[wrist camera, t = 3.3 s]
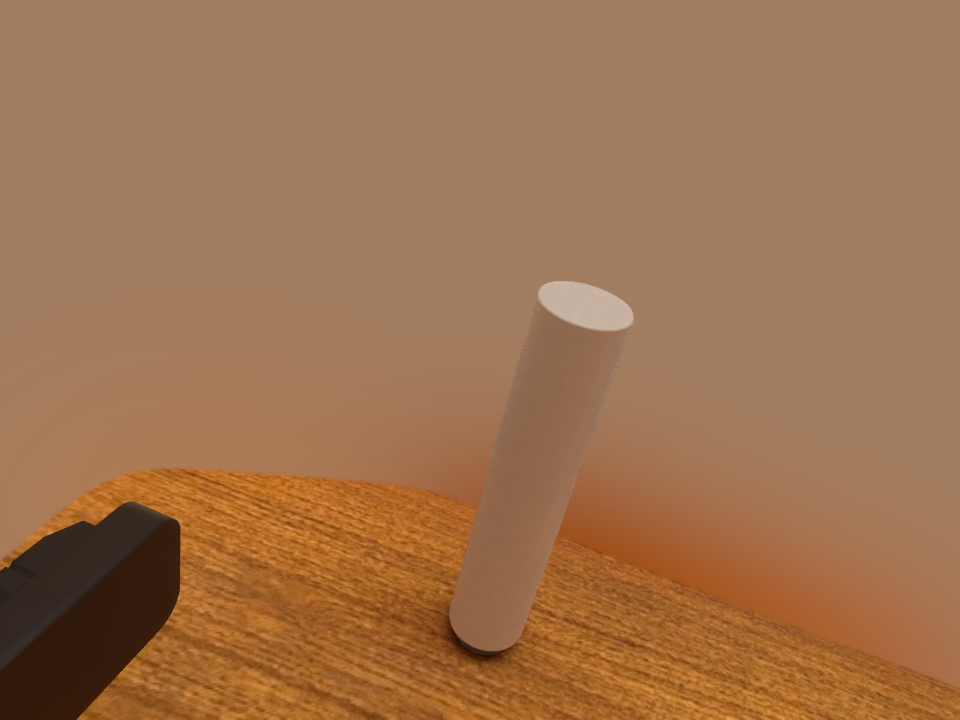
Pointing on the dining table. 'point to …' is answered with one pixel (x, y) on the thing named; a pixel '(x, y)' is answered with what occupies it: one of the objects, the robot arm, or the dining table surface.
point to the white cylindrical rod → (537, 458)
